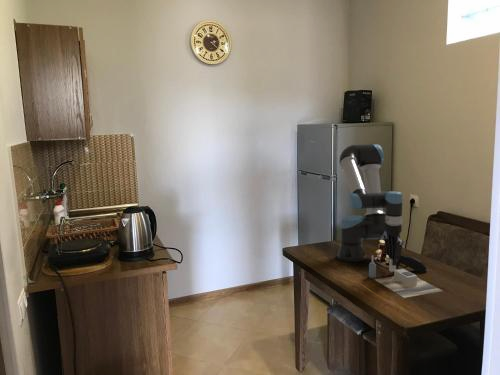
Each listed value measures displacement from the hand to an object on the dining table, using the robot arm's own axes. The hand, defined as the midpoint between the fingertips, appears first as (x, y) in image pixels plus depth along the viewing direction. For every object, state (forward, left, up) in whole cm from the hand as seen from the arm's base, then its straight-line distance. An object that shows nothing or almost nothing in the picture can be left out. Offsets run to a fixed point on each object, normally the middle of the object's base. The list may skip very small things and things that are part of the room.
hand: (392, 270), depth 199 cm
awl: (0, -11, -2) cm, 11 cm away
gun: (0, +11, -3) cm, 11 cm away
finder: (+10, 0, -2) cm, 10 cm away
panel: (+14, -2, -2) cm, 14 cm away
